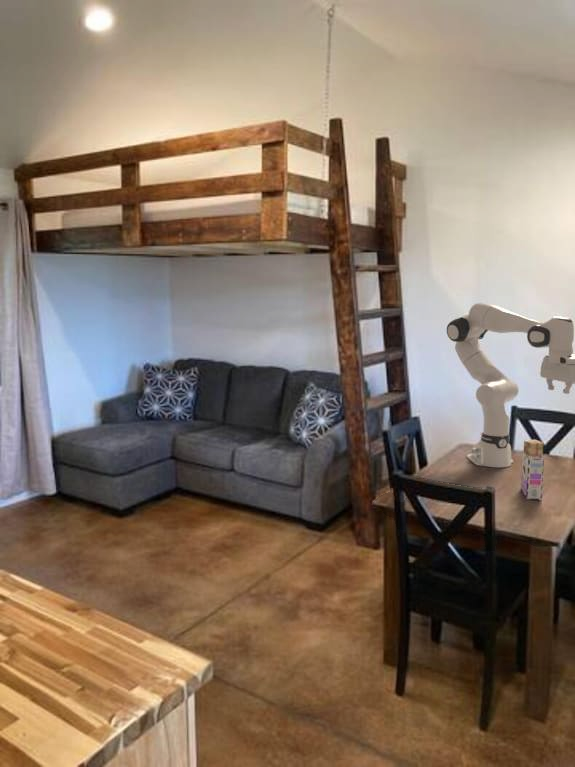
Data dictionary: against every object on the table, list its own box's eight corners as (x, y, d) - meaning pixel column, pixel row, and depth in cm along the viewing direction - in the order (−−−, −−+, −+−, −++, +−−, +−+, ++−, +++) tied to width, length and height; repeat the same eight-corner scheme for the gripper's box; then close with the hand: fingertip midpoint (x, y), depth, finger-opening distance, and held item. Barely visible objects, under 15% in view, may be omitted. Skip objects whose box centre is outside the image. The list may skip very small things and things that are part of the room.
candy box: (542, 500, 238) (544, 459, 236) (526, 499, 239) (528, 458, 237) (535, 489, 251) (537, 449, 249) (520, 488, 253) (522, 449, 250)
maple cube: (523, 452, 245) (524, 440, 244) (534, 452, 246) (535, 439, 245) (531, 456, 240) (531, 443, 239) (542, 455, 241) (543, 442, 240)
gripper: (537, 355, 258) (535, 388, 260) (570, 360, 238) (568, 396, 240) (550, 354, 259) (548, 387, 261) (584, 359, 240) (582, 395, 242)
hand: (558, 391), depth 251 cm, fingers open, 8 cm apart
